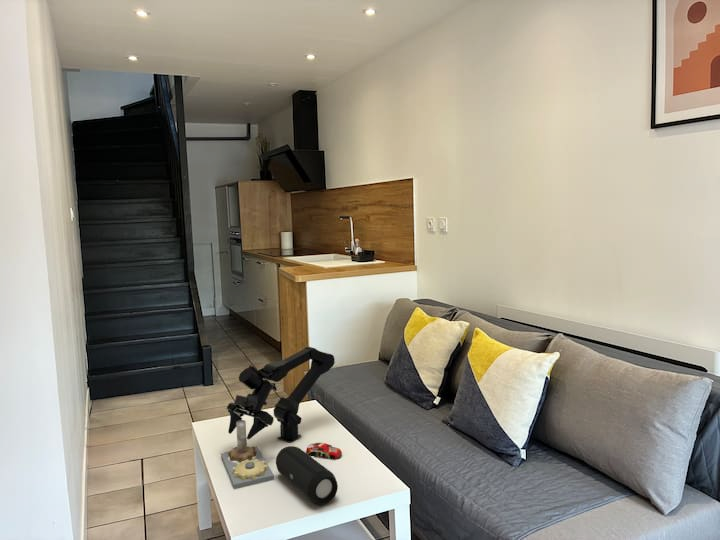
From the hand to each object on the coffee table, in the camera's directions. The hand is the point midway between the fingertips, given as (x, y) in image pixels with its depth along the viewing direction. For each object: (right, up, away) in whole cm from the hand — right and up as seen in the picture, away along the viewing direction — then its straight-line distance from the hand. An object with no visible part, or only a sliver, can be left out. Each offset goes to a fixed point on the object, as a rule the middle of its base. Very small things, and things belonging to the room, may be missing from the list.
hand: (238, 436), depth 188 cm
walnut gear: (+1, -8, +2) cm, 8 cm away
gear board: (+3, -10, -3) cm, 11 cm away
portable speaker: (+25, -11, -17) cm, 33 cm away
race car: (+30, -9, +5) cm, 31 cm away
